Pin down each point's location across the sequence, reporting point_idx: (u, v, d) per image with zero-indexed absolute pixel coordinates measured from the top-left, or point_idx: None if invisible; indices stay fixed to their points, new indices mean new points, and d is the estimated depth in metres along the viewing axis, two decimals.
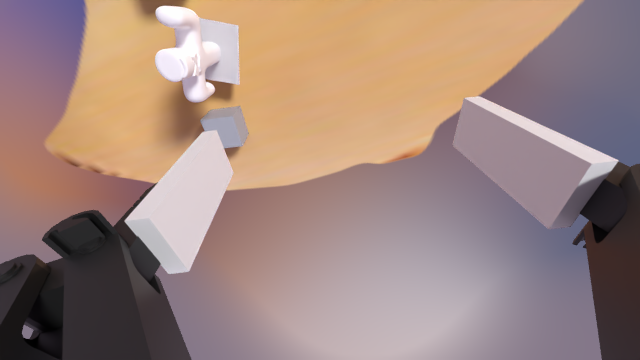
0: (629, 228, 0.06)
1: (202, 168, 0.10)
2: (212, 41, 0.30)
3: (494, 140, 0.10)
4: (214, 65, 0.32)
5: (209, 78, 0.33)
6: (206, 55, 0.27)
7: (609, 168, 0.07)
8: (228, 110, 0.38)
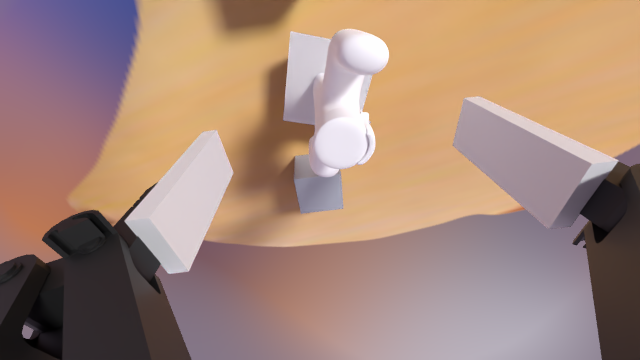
0: (629, 228, 0.06)
1: (202, 168, 0.10)
2: None
3: (494, 140, 0.10)
4: None
5: None
6: None
7: (609, 168, 0.07)
8: None
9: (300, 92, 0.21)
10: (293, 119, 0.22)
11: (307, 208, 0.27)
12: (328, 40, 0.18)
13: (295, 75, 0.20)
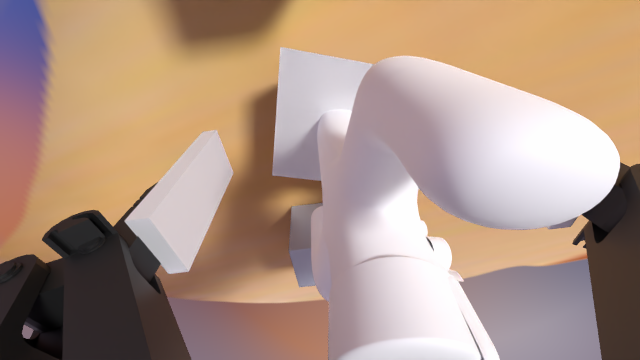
0: (629, 228, 0.06)
1: (202, 168, 0.10)
2: (350, 109, 0.13)
3: None
4: None
5: (321, 178, 0.15)
6: None
7: None
8: None
9: (297, 138, 0.13)
10: (287, 174, 0.15)
11: (308, 281, 0.20)
12: (343, 61, 0.11)
13: (289, 114, 0.13)
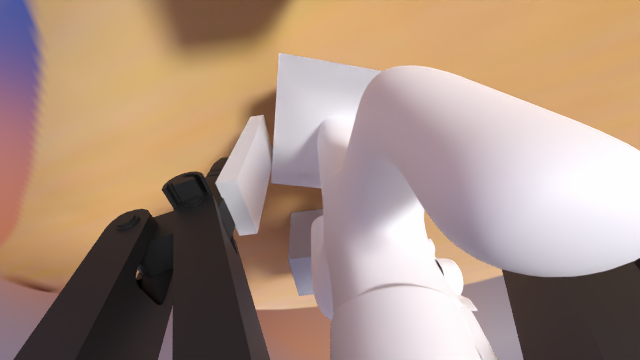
0: None
1: (258, 147, 0.11)
2: (351, 116, 0.12)
3: None
4: None
5: (321, 186, 0.15)
6: None
7: None
8: None
9: (296, 145, 0.13)
10: (287, 182, 0.14)
11: (307, 290, 0.19)
12: (343, 67, 0.11)
13: (288, 121, 0.12)
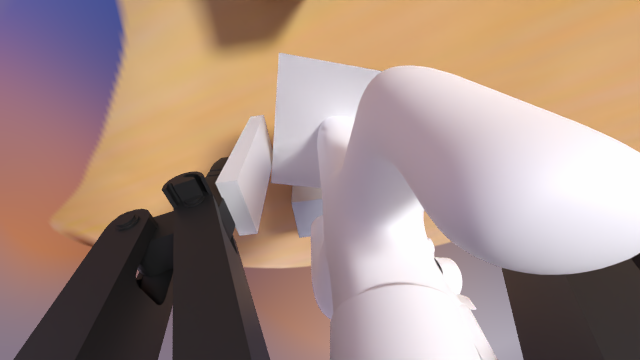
0: None
1: (258, 147, 0.11)
2: (351, 116, 0.12)
3: None
4: None
5: (321, 185, 0.15)
6: None
7: None
8: None
9: (296, 145, 0.13)
10: (287, 181, 0.14)
11: (306, 232, 0.25)
12: (343, 67, 0.11)
13: (288, 120, 0.12)
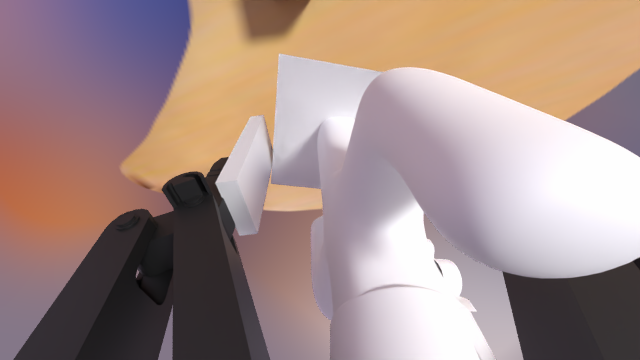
0: None
1: (258, 147, 0.11)
2: (351, 116, 0.12)
3: None
4: None
5: (321, 186, 0.15)
6: None
7: None
8: None
9: (296, 146, 0.13)
10: (287, 182, 0.15)
11: None
12: (343, 68, 0.11)
13: (288, 121, 0.12)
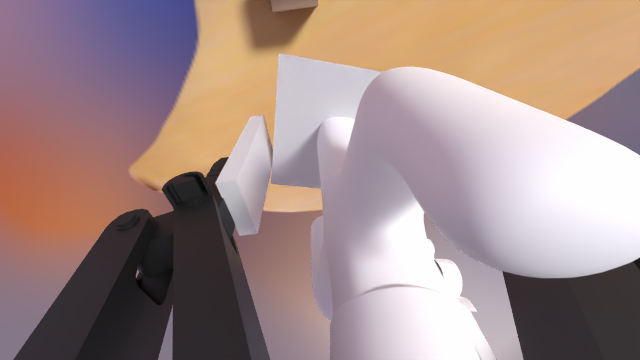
0: None
1: (258, 147, 0.11)
2: (351, 116, 0.12)
3: None
4: None
5: (321, 186, 0.15)
6: None
7: None
8: None
9: (296, 146, 0.13)
10: (287, 182, 0.14)
11: None
12: (343, 67, 0.11)
13: (288, 121, 0.12)
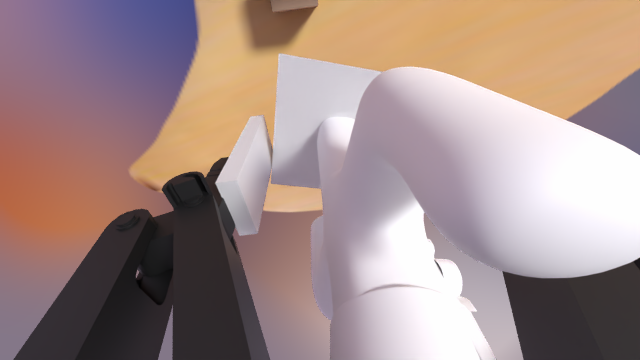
0: None
1: (258, 147, 0.11)
2: (351, 116, 0.12)
3: None
4: None
5: (321, 186, 0.15)
6: None
7: None
8: None
9: (296, 146, 0.13)
10: (287, 182, 0.14)
11: None
12: (343, 67, 0.11)
13: (288, 121, 0.12)
